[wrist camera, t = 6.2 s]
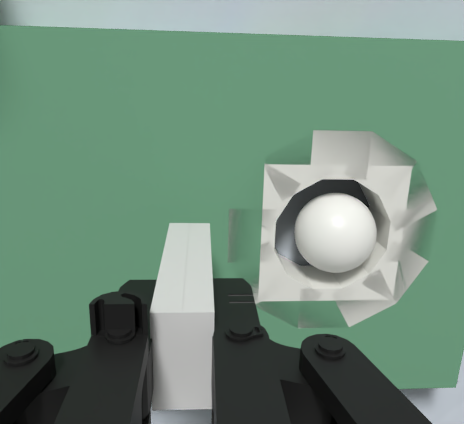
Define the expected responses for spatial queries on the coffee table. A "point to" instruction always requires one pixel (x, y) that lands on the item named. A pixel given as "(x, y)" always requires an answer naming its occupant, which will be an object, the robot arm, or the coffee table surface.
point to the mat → (234, 179)
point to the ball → (335, 232)
